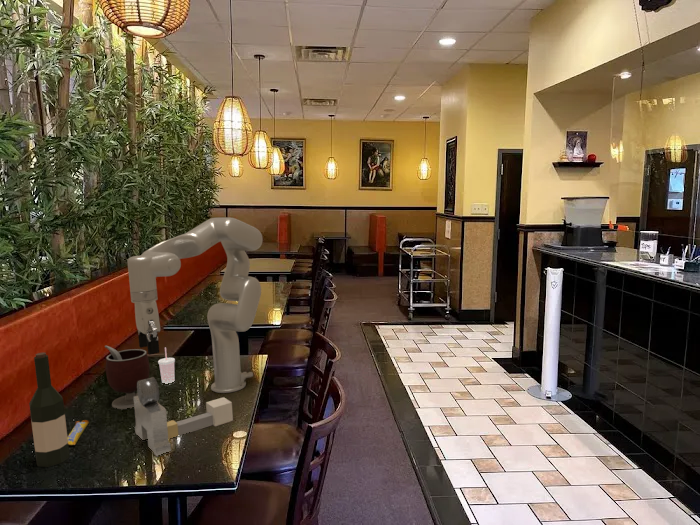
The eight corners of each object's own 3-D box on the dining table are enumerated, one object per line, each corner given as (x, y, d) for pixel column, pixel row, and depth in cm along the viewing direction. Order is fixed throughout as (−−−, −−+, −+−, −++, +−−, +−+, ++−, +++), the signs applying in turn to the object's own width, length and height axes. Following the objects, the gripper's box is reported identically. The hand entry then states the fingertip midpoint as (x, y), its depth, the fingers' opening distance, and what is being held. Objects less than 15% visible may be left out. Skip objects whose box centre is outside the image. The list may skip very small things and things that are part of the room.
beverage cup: (180, 381, 198) (177, 346, 196) (166, 386, 193) (163, 350, 191) (169, 378, 201) (166, 344, 200) (156, 383, 196) (153, 348, 194)
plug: (224, 414, 166) (223, 397, 165) (232, 420, 161) (231, 402, 160) (159, 435, 153) (157, 416, 152) (166, 442, 148) (164, 422, 147)
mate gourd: (160, 395, 184) (155, 341, 182) (134, 411, 171) (129, 353, 168) (124, 392, 188) (119, 339, 186) (96, 407, 175) (90, 351, 173)
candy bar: (76, 425, 163) (75, 420, 163) (90, 423, 164) (89, 418, 163) (58, 450, 147) (58, 444, 146) (74, 448, 147) (74, 442, 147)
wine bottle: (45, 470, 135) (32, 360, 131) (29, 462, 139) (16, 356, 135) (76, 456, 142) (64, 351, 138) (60, 449, 146) (48, 347, 142)
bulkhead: (148, 429, 157) (143, 369, 155) (171, 451, 142) (165, 386, 140) (135, 433, 155) (129, 372, 152) (156, 456, 140) (150, 390, 138)
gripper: (165, 298, 152) (170, 353, 154) (148, 290, 166) (153, 341, 168) (138, 302, 147) (144, 359, 150) (124, 294, 161) (129, 346, 164)
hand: (149, 349), depth 159 cm, fingers open, 9 cm apart
